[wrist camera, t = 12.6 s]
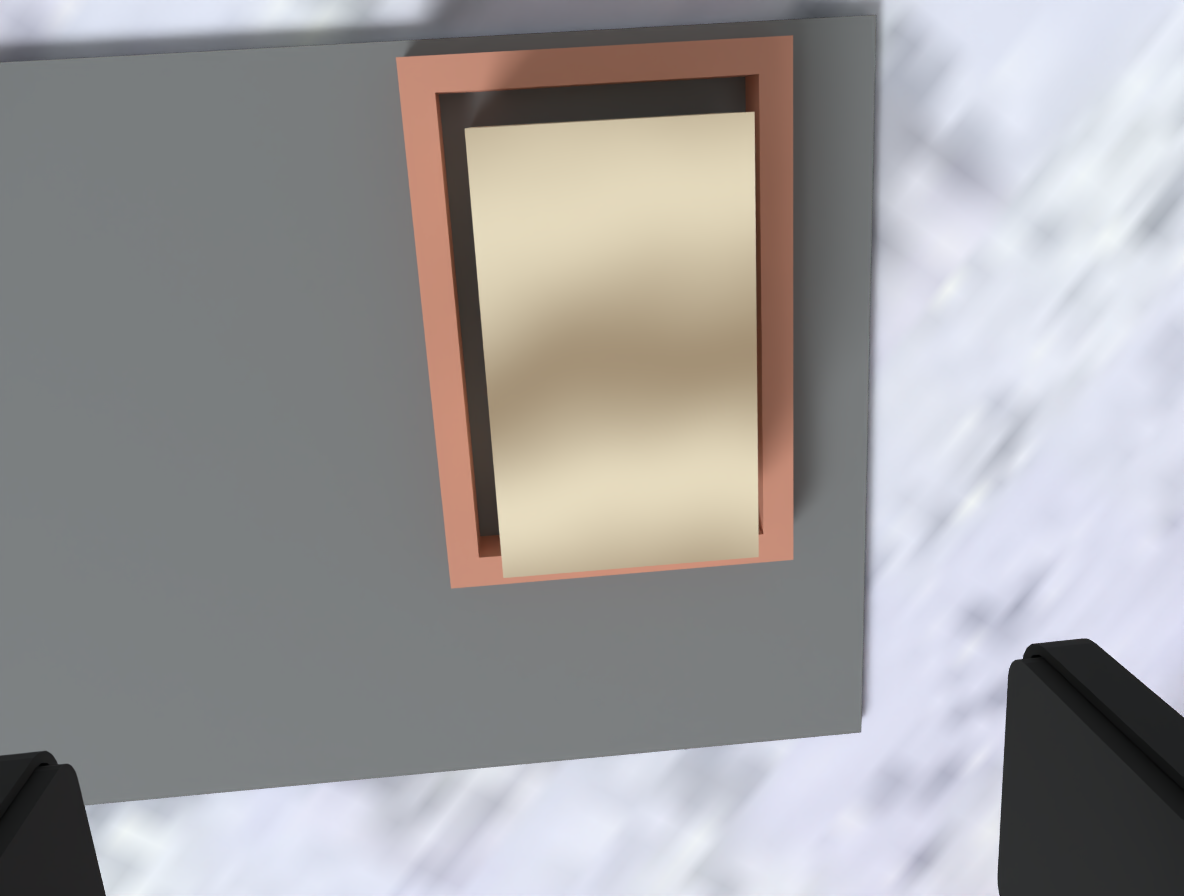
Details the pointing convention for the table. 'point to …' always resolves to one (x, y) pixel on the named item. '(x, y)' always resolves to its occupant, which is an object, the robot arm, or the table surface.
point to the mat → (388, 417)
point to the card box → (619, 338)
